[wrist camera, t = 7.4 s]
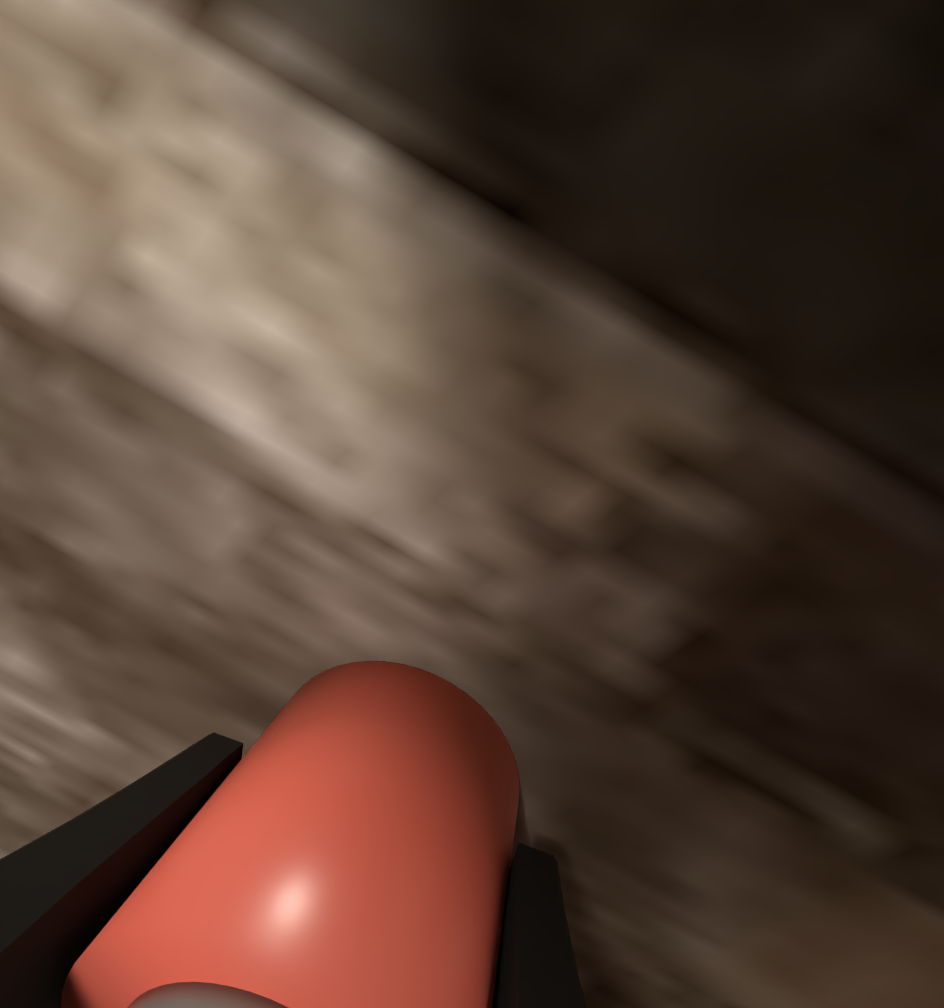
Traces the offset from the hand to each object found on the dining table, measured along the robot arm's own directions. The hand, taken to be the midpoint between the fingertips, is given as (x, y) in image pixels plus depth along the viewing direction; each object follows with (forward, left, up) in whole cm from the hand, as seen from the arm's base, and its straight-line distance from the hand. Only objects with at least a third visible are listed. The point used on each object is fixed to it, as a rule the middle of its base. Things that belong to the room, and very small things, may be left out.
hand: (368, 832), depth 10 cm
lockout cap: (0, 0, -1) cm, 1 cm away
